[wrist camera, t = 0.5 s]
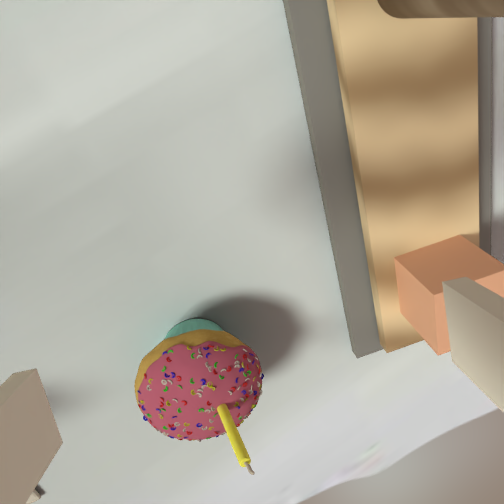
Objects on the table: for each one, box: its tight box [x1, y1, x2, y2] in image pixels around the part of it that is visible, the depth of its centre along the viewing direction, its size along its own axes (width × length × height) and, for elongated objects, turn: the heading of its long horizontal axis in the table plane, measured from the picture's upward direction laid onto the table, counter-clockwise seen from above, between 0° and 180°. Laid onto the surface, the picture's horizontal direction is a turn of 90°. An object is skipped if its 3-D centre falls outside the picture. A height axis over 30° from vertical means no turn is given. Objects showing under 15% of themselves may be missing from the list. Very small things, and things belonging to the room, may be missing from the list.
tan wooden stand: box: [327, 0, 504, 353], centre depth 25 cm, size 28×8×11 cm, turn 15°
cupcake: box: [135, 319, 264, 475], centre depth 29 cm, size 9×8×12 cm
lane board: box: [283, 0, 492, 358], centre depth 31 cm, size 30×12×1 cm, turn 15°
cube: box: [394, 235, 504, 355], centre depth 31 cm, size 5×5×5 cm
